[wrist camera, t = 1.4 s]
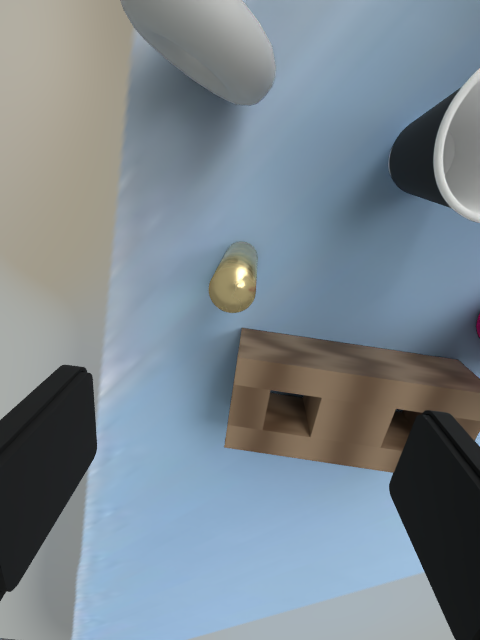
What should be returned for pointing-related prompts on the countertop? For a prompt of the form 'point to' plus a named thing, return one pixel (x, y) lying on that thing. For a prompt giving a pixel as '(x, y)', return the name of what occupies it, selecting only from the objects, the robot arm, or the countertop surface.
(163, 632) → the countertop surface
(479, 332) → the pepper mill
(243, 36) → the donut
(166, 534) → the countertop surface
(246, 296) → the brass peg
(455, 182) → the dixie cup
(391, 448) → the hole block
